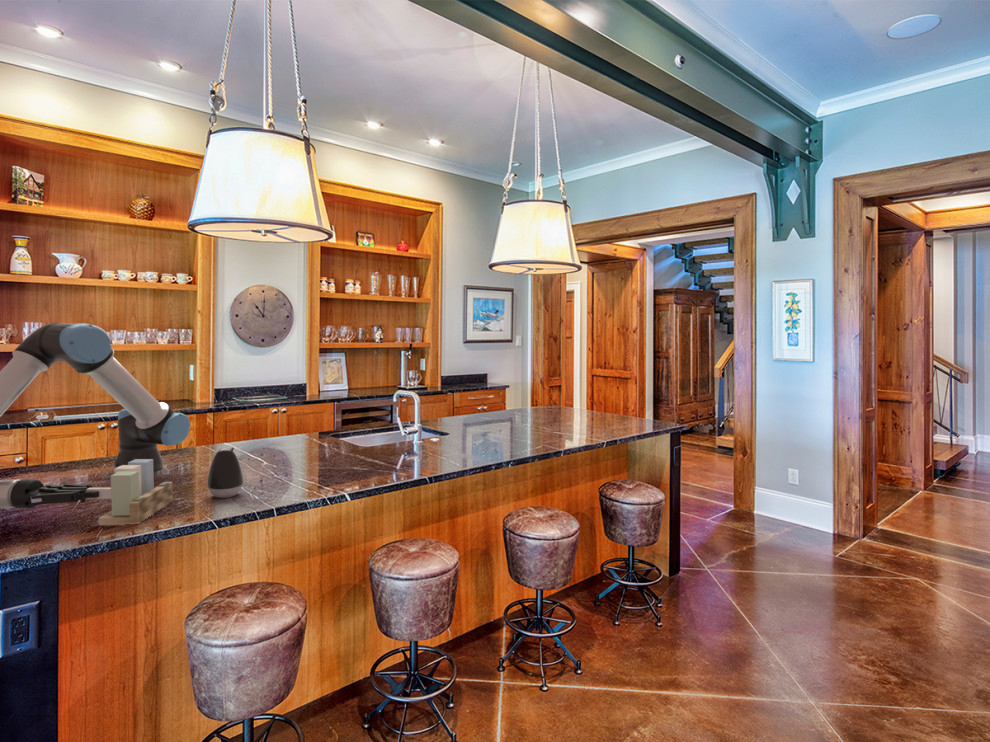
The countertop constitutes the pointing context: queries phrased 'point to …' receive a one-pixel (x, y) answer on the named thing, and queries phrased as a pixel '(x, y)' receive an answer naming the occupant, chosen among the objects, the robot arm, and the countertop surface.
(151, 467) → the slate key
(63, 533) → the countertop surface
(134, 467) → the cream rectangular block
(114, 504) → the pale green tall block
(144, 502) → the wooden key holder base
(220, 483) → the pump dispenser
